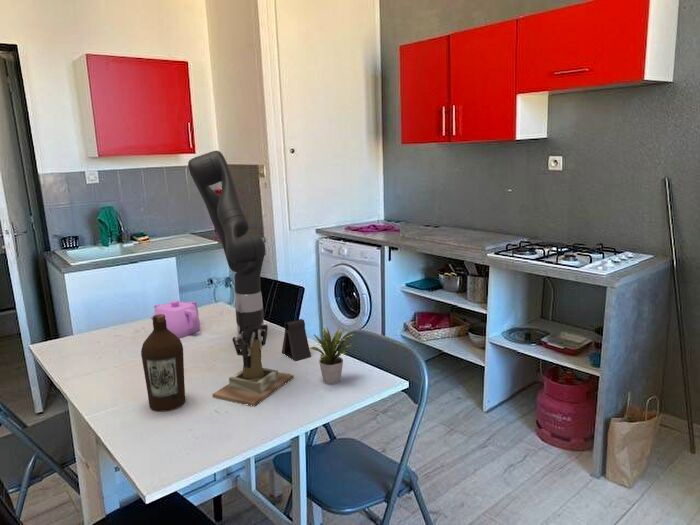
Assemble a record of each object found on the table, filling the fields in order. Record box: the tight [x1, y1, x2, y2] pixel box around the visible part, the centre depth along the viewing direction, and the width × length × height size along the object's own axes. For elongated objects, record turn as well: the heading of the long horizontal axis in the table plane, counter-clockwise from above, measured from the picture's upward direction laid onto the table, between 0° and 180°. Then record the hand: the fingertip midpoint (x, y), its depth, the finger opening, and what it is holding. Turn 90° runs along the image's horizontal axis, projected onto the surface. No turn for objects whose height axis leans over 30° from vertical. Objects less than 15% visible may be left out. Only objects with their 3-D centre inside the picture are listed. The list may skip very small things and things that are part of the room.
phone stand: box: [281, 318, 312, 362], centre depth 178 cm, size 9×6×12 cm, turn 36°
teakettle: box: [150, 299, 201, 339], centre depth 204 cm, size 17×17×12 cm
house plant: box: [309, 326, 356, 385], centre depth 156 cm, size 14×14×16 cm
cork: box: [242, 339, 264, 379], centre depth 153 cm, size 6×6×11 cm
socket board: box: [212, 367, 295, 407], centre depth 155 cm, size 20×14×4 cm
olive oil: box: [140, 314, 186, 412], centre depth 144 cm, size 11×11×25 cm
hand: (252, 364), depth 154 cm, fingers closed on cork, 4 cm apart
